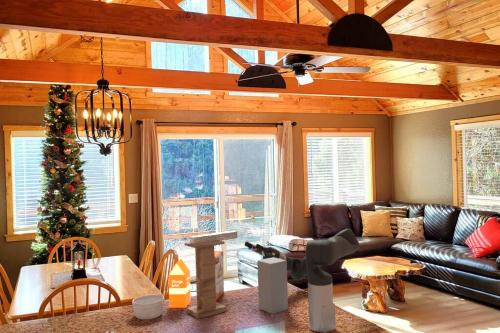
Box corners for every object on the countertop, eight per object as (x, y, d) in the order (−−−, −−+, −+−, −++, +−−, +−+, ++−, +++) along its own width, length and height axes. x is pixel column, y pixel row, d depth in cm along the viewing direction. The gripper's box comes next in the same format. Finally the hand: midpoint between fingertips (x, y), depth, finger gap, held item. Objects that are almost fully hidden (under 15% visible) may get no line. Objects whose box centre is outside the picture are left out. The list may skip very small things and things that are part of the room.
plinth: (288, 309, 188) (286, 260, 187) (271, 313, 182) (270, 263, 182) (274, 304, 195) (273, 257, 195) (258, 308, 190) (257, 260, 189)
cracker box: (217, 301, 201) (215, 256, 201) (204, 301, 202) (203, 256, 202) (225, 292, 215) (223, 250, 215) (213, 292, 216) (211, 250, 216)
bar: (237, 238, 195) (237, 231, 195) (194, 244, 182) (193, 237, 182) (233, 237, 198) (233, 230, 198) (190, 243, 185) (190, 236, 185)
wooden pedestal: (226, 311, 188) (224, 241, 187) (198, 318, 179) (195, 245, 179) (214, 305, 196) (212, 238, 196) (186, 312, 187) (184, 242, 187)
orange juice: (191, 301, 203) (189, 258, 203) (186, 307, 194) (184, 262, 194) (174, 301, 204) (173, 258, 204) (169, 307, 195) (167, 262, 195)
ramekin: (137, 323, 177) (136, 305, 177) (129, 313, 188) (128, 297, 188) (168, 316, 183) (168, 300, 183) (159, 308, 195) (158, 292, 195)
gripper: (281, 267, 203) (256, 254, 195) (262, 262, 215) (238, 249, 206) (287, 252, 205) (262, 238, 197) (268, 248, 217) (244, 235, 209)
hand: (250, 244), depth 202 cm, fingers open, 8 cm apart
